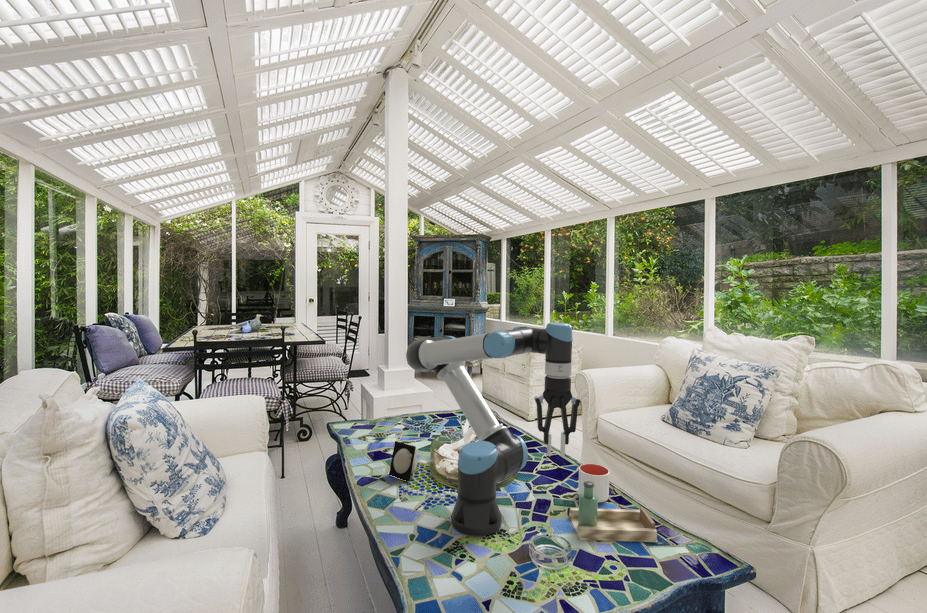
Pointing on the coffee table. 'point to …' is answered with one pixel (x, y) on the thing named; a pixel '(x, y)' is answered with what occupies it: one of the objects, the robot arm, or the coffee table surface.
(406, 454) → the decorative object
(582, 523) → the bottle
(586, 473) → the cup
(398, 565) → the coffee table surface
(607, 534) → the wooden tray
